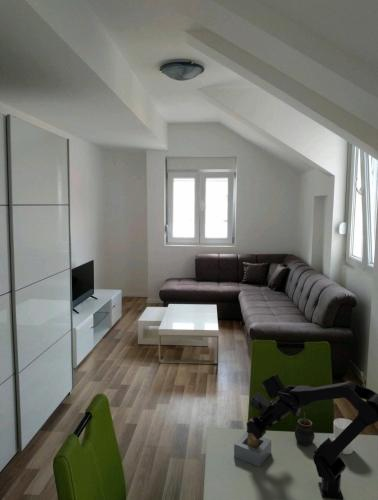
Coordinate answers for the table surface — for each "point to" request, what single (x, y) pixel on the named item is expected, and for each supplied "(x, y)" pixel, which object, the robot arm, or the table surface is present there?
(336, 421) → the white cup
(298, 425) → the mate gourd
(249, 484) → the table surface
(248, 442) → the tall wooden pillar block
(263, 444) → the grey square socket holder
